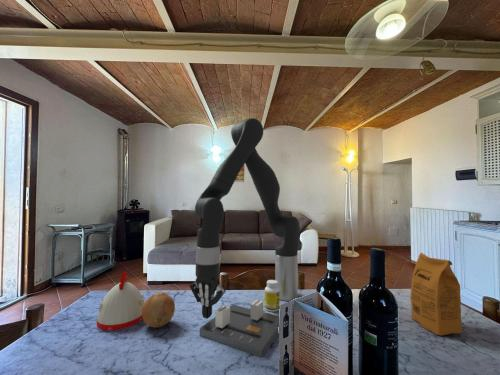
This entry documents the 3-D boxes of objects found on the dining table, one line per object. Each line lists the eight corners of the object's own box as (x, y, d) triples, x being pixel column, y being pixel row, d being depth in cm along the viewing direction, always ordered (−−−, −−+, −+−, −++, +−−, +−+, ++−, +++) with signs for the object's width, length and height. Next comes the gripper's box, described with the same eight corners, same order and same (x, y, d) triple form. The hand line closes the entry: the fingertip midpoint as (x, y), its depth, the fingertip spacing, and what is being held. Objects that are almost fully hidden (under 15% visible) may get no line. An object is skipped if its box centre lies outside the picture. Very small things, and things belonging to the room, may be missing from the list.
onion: (169, 314, 80) (170, 285, 80) (178, 327, 72) (179, 294, 72) (138, 323, 74) (139, 291, 75) (145, 338, 66) (146, 302, 67)
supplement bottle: (278, 313, 82) (278, 284, 82) (263, 311, 83) (263, 283, 83) (280, 306, 87) (280, 279, 87) (265, 304, 88) (265, 278, 89)
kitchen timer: (146, 307, 85) (148, 266, 86) (141, 326, 72) (143, 277, 73) (103, 312, 81) (105, 269, 82) (90, 333, 68) (92, 281, 69)
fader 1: (223, 320, 72) (223, 305, 72) (229, 322, 70) (230, 306, 71) (215, 326, 68) (215, 310, 68) (222, 328, 67) (222, 312, 67)
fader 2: (256, 313, 76) (256, 299, 77) (263, 314, 75) (263, 300, 75) (250, 318, 73) (250, 303, 73) (257, 320, 72) (257, 305, 72)
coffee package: (433, 316, 80) (431, 251, 81) (469, 337, 67) (465, 260, 69) (405, 316, 80) (403, 251, 81) (435, 337, 67) (432, 260, 69)
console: (232, 310, 83) (232, 304, 83) (285, 324, 74) (285, 317, 74) (199, 335, 68) (199, 327, 68) (261, 357, 58) (261, 348, 58)
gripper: (231, 260, 73) (231, 317, 72) (199, 255, 80) (198, 307, 79) (217, 266, 67) (216, 328, 66) (183, 260, 73) (182, 317, 72)
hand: (206, 317), depth 72 cm, fingers closed
